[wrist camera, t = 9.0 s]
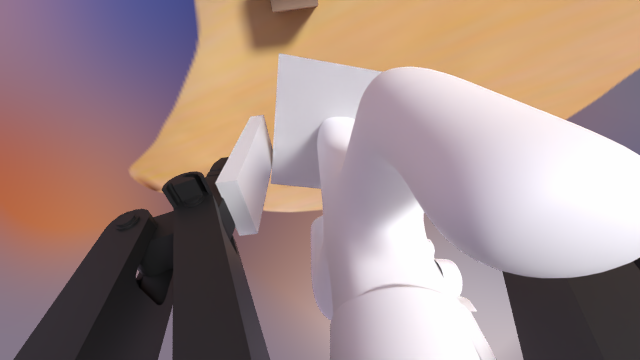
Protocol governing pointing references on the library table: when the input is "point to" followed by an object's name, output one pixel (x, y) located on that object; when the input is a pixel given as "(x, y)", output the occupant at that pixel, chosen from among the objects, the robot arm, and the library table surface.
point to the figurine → (440, 200)
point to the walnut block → (292, 5)
